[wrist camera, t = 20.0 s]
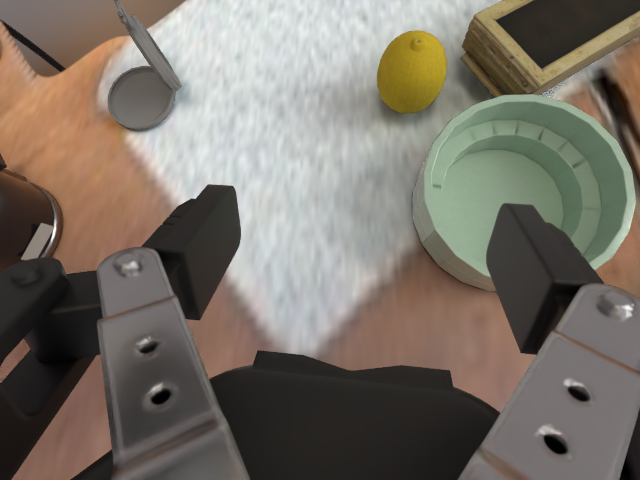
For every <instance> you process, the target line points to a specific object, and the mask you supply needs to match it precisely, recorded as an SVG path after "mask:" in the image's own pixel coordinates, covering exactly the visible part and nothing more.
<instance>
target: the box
mask: <svg viewBox="0 0 640 480" xmlns="http://www.w3.org/2000/svg"><path fill="white" fill-rule="evenodd" d="M468 29H469V30H468V32H467V33H466V36H465V37H466V38H465V40H464V42H463V45H462V47H463V49H464V50H465V52H466V53H465V54H464V55H463V56H462V57H461V58H460V59H461V60H462V61H463V62H464V64H465V65H466V66H467V67H468V68H469V69H470V70H471V71H472V73H473V74H474V75H475V76H476V77H477V78H478V79H479V80H480V81H481V82H482V83H483V84H484V86H485V87H486V88H487V89H488V90H489V91H490V92H491V94H492V95H493V96H494V97H495V98H496V97H499V96H502V95H528V94H534V95H540V94H542V93H544V92H545V91H547V90H549V89H550V88H552V87H554V86H555V85H557V84H558V83H560V82H562V81H563V80H565V79H567V78H568V77H570V76H572V75H573V74H575V73H576V72H578V71H580V70H581V69H583V68H585V67H586V66H588V65H590V64H591V63H593V62H595V61H596V60H598V59H600V58H601V57H603V56H605V55H606V54H608V53H610V52H611V51H613V50H615V49H616V48H618V47H619V46H621V45H623V44H624V43H626V42H628V41H629V40H631V39H632V38H634V37H636V36H637V35H639V34H640V0H503V1H501V2H499V3H497V4H495V5H493V6H491V7H489V8H487V9H485V10H483V11H481V12H479V13H477V14H475V15H474V17H473V19H472V21H471V23H470V25H469V28H468Z"/></svg>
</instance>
